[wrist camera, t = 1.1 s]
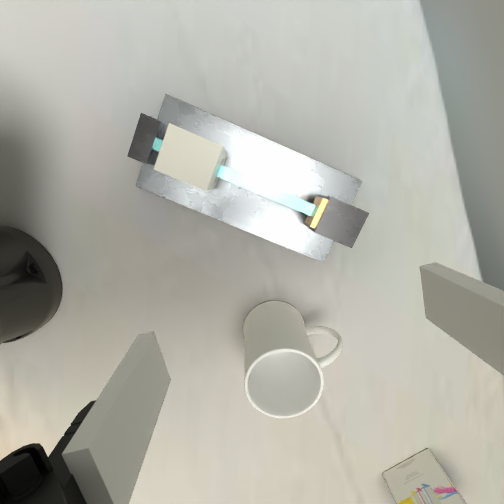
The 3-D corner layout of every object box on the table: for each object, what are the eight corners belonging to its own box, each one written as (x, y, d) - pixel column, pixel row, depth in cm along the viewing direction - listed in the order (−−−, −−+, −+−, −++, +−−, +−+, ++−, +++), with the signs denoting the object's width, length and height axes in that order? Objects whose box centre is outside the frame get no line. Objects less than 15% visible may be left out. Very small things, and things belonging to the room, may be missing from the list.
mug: (321, 289, 42) (351, 331, 30) (332, 344, 43) (363, 405, 32) (236, 307, 42) (233, 356, 30) (250, 362, 44) (252, 428, 32)
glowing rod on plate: (138, 185, 38) (113, 187, 31) (168, 96, 36) (148, 75, 29) (321, 260, 41) (337, 277, 33) (358, 181, 38) (385, 181, 31)
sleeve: (172, 171, 34) (153, 169, 27) (185, 135, 34) (169, 122, 27) (214, 189, 35) (206, 191, 28) (227, 153, 34) (223, 146, 27)
